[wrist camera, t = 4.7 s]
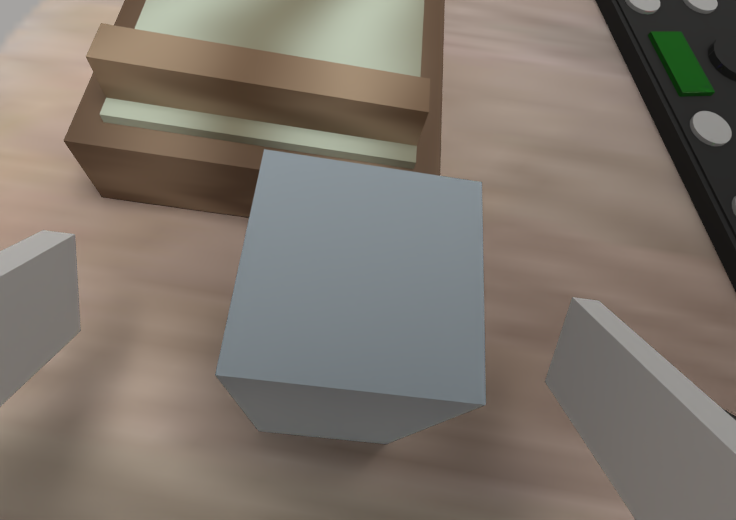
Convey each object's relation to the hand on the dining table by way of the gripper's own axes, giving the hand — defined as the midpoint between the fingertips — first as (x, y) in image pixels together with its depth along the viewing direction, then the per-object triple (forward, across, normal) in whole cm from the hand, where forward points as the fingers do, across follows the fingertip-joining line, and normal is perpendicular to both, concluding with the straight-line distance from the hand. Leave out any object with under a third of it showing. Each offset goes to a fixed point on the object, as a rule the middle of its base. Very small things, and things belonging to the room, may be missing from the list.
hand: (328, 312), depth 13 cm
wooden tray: (+13, -3, +5) cm, 14 cm away
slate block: (+4, 0, -4) cm, 6 cm away
